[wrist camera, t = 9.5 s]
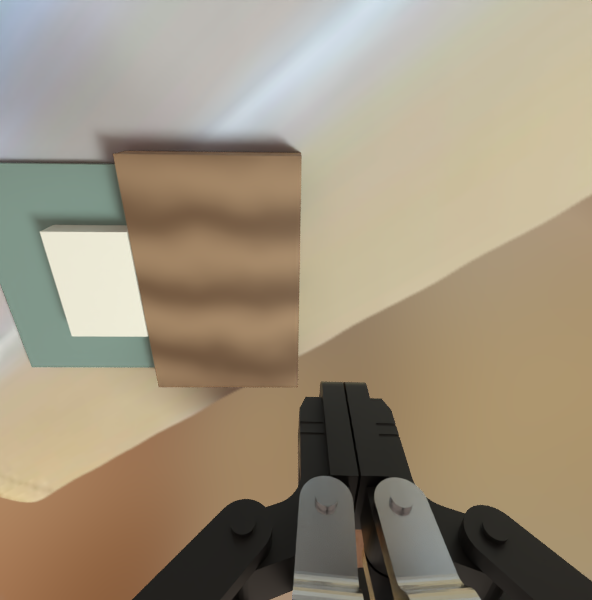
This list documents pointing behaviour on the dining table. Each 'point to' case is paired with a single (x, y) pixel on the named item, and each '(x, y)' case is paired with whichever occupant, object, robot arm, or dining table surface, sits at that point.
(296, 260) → the board
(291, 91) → the dining table surface
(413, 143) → the dining table surface
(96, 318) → the plastic block
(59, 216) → the rubber mat
